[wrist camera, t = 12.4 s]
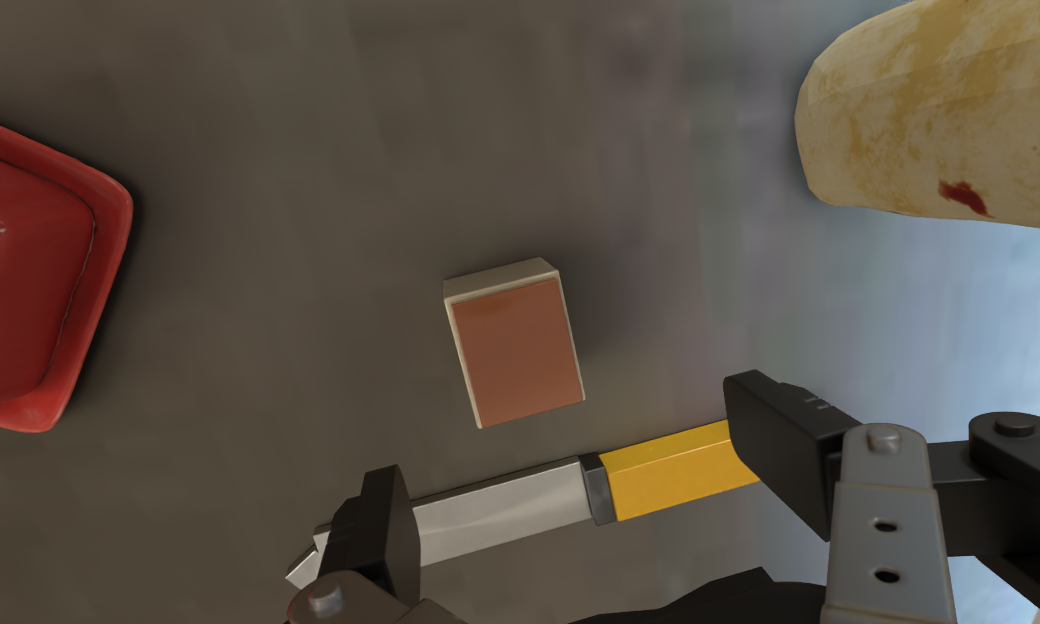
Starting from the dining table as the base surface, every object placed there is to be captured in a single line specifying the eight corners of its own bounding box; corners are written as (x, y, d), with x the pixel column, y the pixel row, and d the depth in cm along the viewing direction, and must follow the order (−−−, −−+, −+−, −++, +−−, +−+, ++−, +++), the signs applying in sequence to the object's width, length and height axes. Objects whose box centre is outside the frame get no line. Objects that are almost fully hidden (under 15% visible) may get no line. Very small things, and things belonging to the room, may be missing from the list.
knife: (299, 598, 29) (290, 627, 28) (276, 538, 29) (265, 564, 27) (791, 456, 32) (814, 475, 30) (784, 397, 31) (807, 412, 29)
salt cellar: (471, 394, 28) (479, 434, 24) (441, 280, 27) (443, 301, 23) (565, 369, 29) (589, 404, 24) (540, 255, 27) (561, 271, 23)
